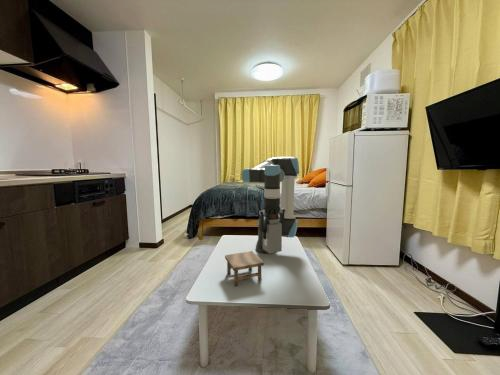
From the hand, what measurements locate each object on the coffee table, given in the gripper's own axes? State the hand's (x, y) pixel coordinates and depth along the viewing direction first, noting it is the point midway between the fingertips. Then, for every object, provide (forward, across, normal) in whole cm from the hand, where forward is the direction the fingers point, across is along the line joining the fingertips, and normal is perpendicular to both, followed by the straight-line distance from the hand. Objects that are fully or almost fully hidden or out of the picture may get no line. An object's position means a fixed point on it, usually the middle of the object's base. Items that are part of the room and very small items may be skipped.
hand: (271, 244), depth 107 cm
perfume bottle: (+3, 0, 0) cm, 3 cm away
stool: (+20, +10, -12) cm, 26 cm away
